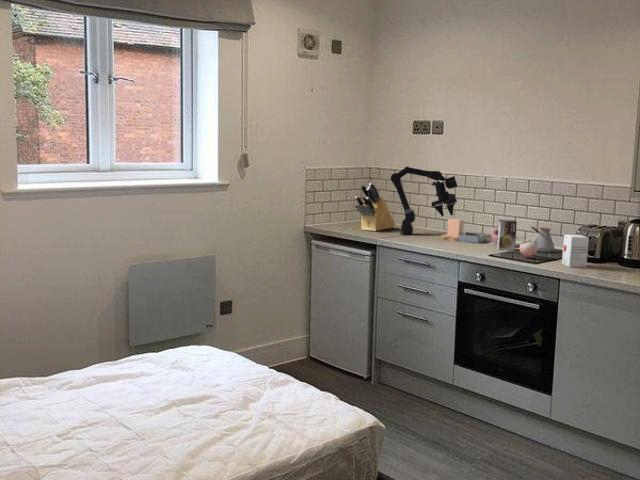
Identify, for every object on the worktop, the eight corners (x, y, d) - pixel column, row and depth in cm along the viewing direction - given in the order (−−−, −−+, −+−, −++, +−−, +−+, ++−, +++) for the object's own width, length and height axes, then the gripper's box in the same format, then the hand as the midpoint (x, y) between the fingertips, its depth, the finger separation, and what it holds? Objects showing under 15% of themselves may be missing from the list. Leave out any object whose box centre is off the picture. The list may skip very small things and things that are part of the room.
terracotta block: (447, 236, 428) (448, 219, 426) (450, 234, 434) (451, 218, 433) (458, 237, 425) (459, 220, 423) (461, 235, 431) (462, 219, 429)
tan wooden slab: (438, 239, 427) (438, 236, 427) (445, 236, 439) (445, 233, 439) (458, 241, 422) (458, 238, 421) (464, 238, 434) (465, 235, 434)
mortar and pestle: (488, 245, 408) (490, 225, 407) (493, 243, 419) (494, 223, 417) (510, 247, 403) (511, 227, 401) (514, 245, 414) (515, 225, 412)
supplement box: (561, 263, 356) (563, 234, 354) (578, 264, 357) (581, 234, 355) (568, 267, 347) (571, 236, 345) (586, 267, 348) (589, 237, 346)
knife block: (352, 231, 450) (354, 182, 446) (380, 226, 479) (382, 180, 474) (367, 233, 444) (369, 183, 439) (395, 228, 473) (397, 181, 468)
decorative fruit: (524, 259, 364) (526, 240, 363) (516, 257, 372) (517, 238, 371) (541, 259, 367) (542, 240, 366) (532, 256, 375) (533, 237, 373)
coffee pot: (538, 249, 402) (540, 222, 400) (557, 252, 394) (560, 225, 392) (519, 252, 387) (521, 225, 385) (538, 255, 379) (540, 227, 377)
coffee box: (513, 248, 401) (515, 220, 398) (515, 250, 394) (517, 221, 392) (496, 247, 401) (498, 219, 399) (498, 249, 395) (500, 220, 393)
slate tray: (458, 241, 421) (459, 234, 421) (465, 238, 434) (465, 232, 433) (478, 243, 416) (479, 236, 415) (485, 240, 428) (485, 234, 428)
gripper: (460, 186, 431) (467, 211, 432) (442, 189, 448) (448, 213, 449) (446, 190, 426) (452, 216, 427) (428, 193, 443) (434, 218, 444)
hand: (447, 215), depth 437 cm, fingers open, 9 cm apart
